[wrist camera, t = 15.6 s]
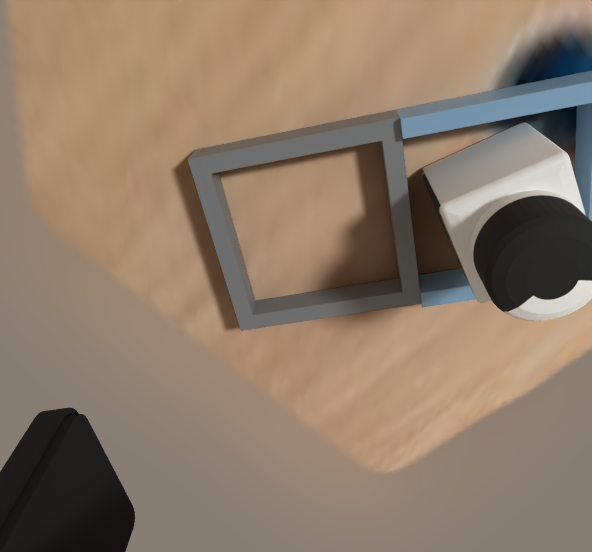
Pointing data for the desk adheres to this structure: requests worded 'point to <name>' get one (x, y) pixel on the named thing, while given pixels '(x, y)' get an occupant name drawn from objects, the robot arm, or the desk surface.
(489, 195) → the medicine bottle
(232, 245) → the frame
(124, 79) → the desk surface
